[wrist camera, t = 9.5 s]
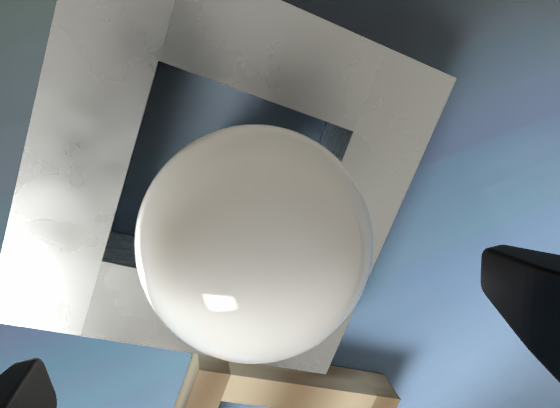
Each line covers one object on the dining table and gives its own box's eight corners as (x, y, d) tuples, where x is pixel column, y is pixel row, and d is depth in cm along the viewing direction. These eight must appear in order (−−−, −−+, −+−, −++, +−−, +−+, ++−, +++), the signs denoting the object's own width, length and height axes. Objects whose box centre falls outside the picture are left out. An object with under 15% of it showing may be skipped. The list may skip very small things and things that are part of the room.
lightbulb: (264, 77, 19) (385, 100, 9) (308, 209, 21) (443, 350, 11) (118, 131, 18) (62, 226, 8) (180, 262, 20) (199, 466, 10)
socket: (417, 74, 20) (456, 78, 17) (307, 335, 23) (325, 374, 21) (93, -66, 16) (77, -91, 13) (12, 281, 19) (-15, 320, 16)
